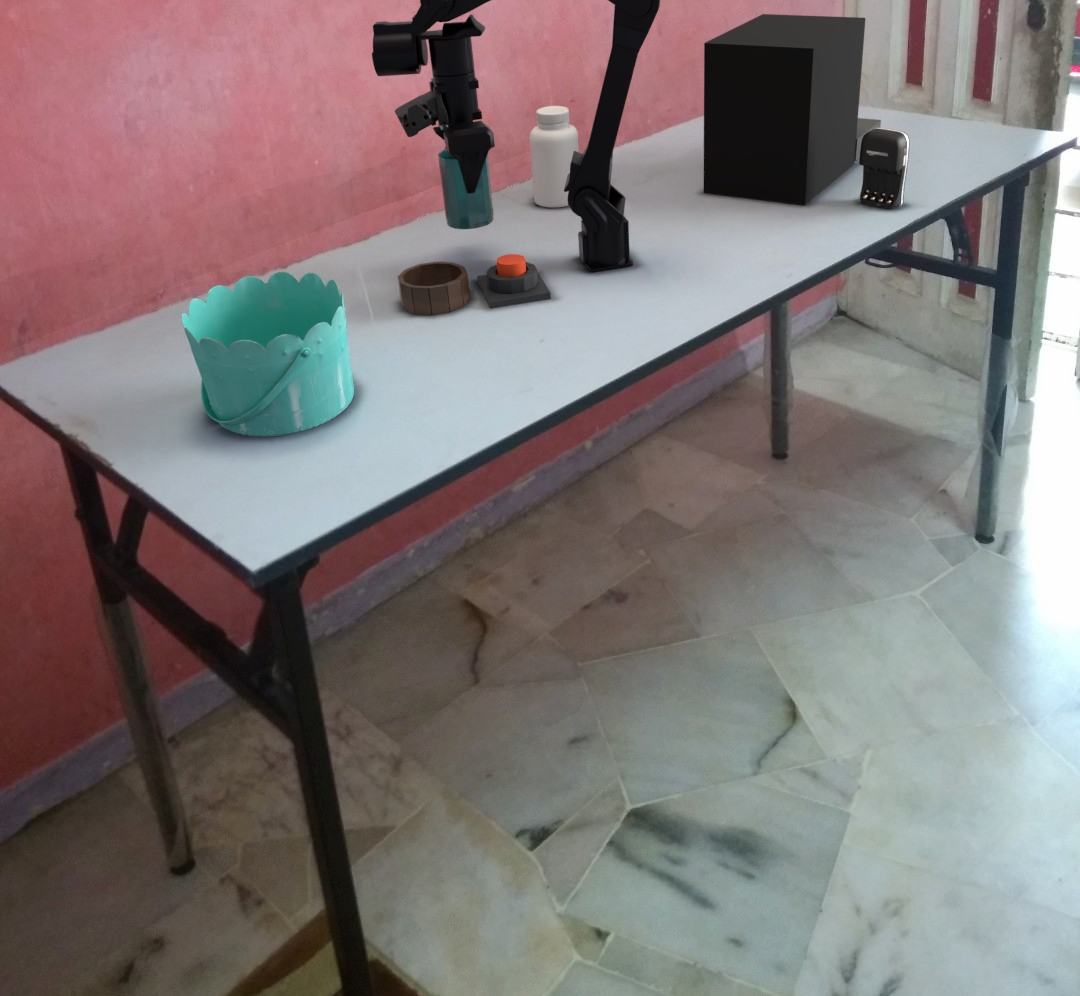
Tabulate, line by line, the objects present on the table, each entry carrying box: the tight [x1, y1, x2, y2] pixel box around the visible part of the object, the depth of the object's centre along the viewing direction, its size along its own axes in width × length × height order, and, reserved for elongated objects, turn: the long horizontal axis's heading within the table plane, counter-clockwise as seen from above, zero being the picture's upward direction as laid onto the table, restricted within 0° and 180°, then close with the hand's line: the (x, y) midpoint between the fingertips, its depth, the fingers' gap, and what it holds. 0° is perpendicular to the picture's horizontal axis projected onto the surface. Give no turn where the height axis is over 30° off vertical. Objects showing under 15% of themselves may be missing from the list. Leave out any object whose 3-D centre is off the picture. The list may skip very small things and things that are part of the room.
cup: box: [437, 148, 495, 230], centre depth 163 cm, size 7×7×10 cm
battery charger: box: [858, 127, 911, 209], centre depth 176 cm, size 7×4×11 cm, turn 45°
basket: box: [180, 271, 355, 437], centre depth 133 cm, size 19×18×13 cm
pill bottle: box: [529, 105, 580, 208], centre depth 188 cm, size 8×8×15 cm
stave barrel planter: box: [397, 261, 471, 316], centre depth 158 cm, size 9×9×4 cm
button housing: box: [476, 261, 552, 309], centre depth 160 cm, size 10×8×3 cm
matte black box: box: [702, 13, 882, 206], centre depth 191 cm, size 18×35×24 cm, turn 148°
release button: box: [495, 253, 526, 277], centre depth 159 cm, size 4×4×2 cm
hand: (466, 185), depth 163 cm, fingers closed on cup, 7 cm apart
